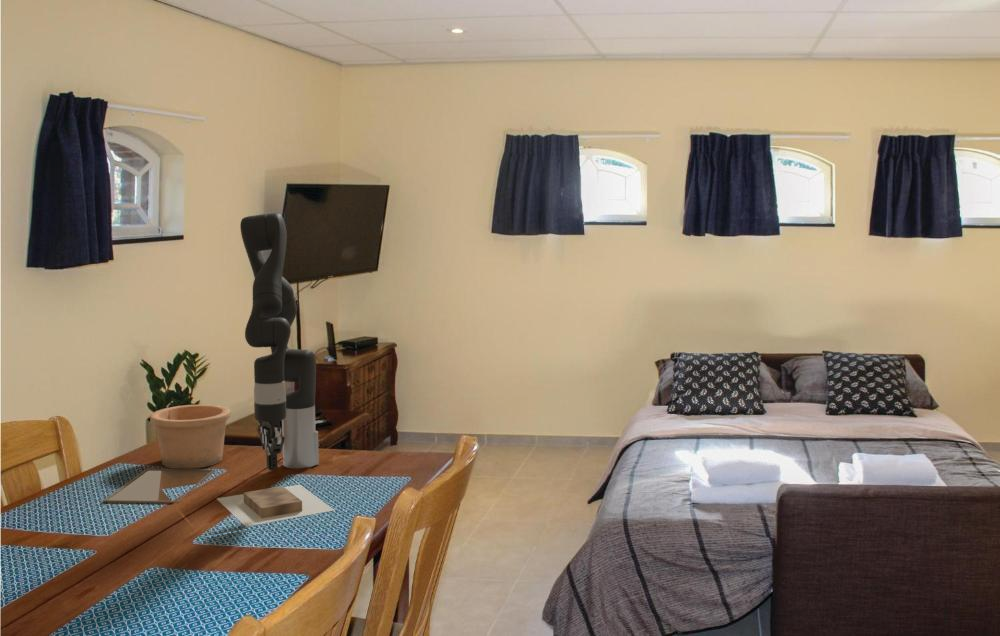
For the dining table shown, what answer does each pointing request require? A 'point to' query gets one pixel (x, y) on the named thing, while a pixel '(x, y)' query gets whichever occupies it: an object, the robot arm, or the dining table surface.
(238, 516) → the mat
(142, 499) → the picture frame
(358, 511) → the dining table surface
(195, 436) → the pottery
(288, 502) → the walnut tile
